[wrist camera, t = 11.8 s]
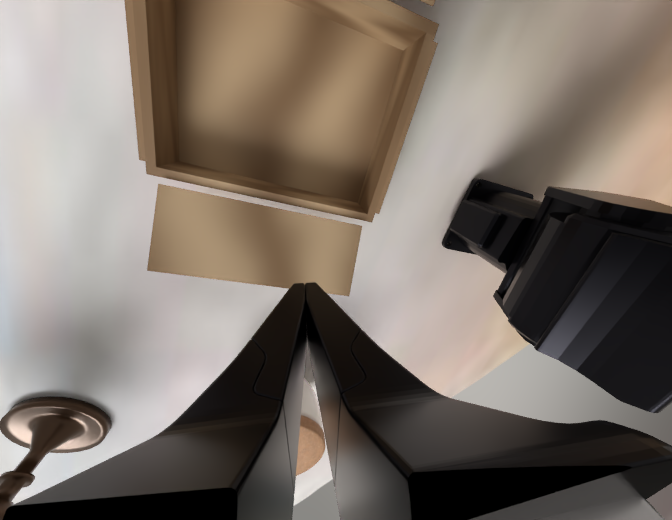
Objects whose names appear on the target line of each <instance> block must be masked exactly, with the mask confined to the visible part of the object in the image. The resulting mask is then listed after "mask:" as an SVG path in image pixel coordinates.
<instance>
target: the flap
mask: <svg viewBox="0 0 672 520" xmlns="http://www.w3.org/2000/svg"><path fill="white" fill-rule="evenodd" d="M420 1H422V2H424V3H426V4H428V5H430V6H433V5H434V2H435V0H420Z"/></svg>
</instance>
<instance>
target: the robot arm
mask: <svg viewBox="0 0 672 520" xmlns="http://www.w3.org/2000/svg"><path fill="white" fill-rule="evenodd" d="M477 183H479V184H478V186H477V187H476V184H477ZM544 195H546V196H545V198H544V200H543V202H540V201H537V200H533V195H532V194H529V193H526V192H523V191H519V190H516V189H513V188H509V187H506V186H503V185H499V184H496V183H493V182H489V181H486V180H483V179H479V178H476V179H474V180H473V181H472V182H471V184H470V186H469V188H468V190H467V192H466V194H465V196H464V198H463V200H462V202H461V204H460V207H459V209H458V211H457V213H456V215H455V217H454V219H453V221H452V223H451V225H450V227H449V229H448V231H447V233H446V235H445V237H444V239H443V241H442V245H443V246H444V247H445V248H447V249H451V250H456V251H461V252H466V253H471V254H476V255H479V256H480V257H482V258H483V259H485V260H486V261H488V262H489V263H491V264H492V265H494V266H495V267H497V268H498V269H500V270H501V271H503V272H504V273H506V275H505V277H504V279H503V281H502V283H501V285H500V286H499V288H498V290H496V291H495V293H494V295H493V297H494V298H495V300H496V301H497V303H498V304H499V306H500V307H501V309H502V310H503V312H504V313H505V314H506V316H507V317H508V321H509V323H510V324H511V325H512V326H513V327H514V328H515V329H516V331H517V332H518V333H519V334H520V335H521V336H522V337H523V339H524V340H525V341H527V342H529V343H530V344H532V345H533V346H535V347H534V348H535V349H536V350H537V351H539V352H541V353H543V354H546V355H548V356H550V357H552V358H555V359H557V360H559V361H561V362H563V363H564V364H566V365H568V366H569V367H571V368H573V369H575V370H576V371H578V372H579V373H581V374H582V375H584V376H585V377H587V378H588V379H590V380H591V381H593V382H594V383H596V384H597V385H598V386H600V387H601V388H603V389H604V390H605V391H607V392H608V393H609V394H611V395H612V396H614V397H615V398H616V399H618V400H620V401H622V402H624V403H627V404H630V405H632V406H635V407H638V408H640V409H643V410H646V411H649V412H653V413H659V412H661V411H662V410H663V409H664V408H666V407H667V406H668V405H669V404H670V403H672V207H670V206H667V205H664V204H661V203H658V202H655V201H651V200H647V199H641V198H635V197H630V196H624V195H618V194H612V193H607V192H599V191H589V190H579V189H570V188H560V187H550V186H548V188H547V190H546V192H545V194H544ZM448 242H449V244H447V243H448ZM306 323H307V324H306ZM307 340H308V347H309V352H310V358H311V363H312V369H313V374H314V379H315V385H316V390H317V396H318V401H319V406H320V412H321V417H322V422H323V428H324V433H325V439H326V444H327V449H328V455H329V460H330V466H331V471H332V476H333V482H334V486H335V493H336V498H337V503H338V509H339V514H340V520H665V519H664V518H663V517H662V516H661V515H660V514H659V513H658V512H657V511H656V510H655V508H654V507H653V506H652V505H651V504H650V503H649V502H648V501H647V500H646V499H647V498H649V497H650V496H652V495H654V494H655V493H657V492H658V491H660V490H661V489H663V488H664V487H666V486H667V485H669V484H671V483H672V446H671V445H669V444H667V443H665V442H663V441H661V440H659V439H657V438H655V437H653V436H650V435H648V434H646V433H643V432H641V431H638V430H635V429H631V428H628V427H625V426H622V425H619V424H615V423H611V422H608V421H602V420H598V421H589V422H583V423H573V424H566V423H554V422H547V421H541V420H537V419H532V418H527V417H523V416H519V415H515V414H511V413H507V412H503V411H499V410H495V409H491V408H487V407H483V406H479V405H475V404H471V403H467V402H463V401H459V400H455V399H452V398H448V397H446V396H443V395H441V394H439V393H437V392H436V391H434V390H433V389H431V388H429V387H428V386H427V385H425V384H424V383H423V382H422V381H420V380H419V379H418V378H417V377H415V376H414V375H413V374H412V373H411V372H409V371H408V370H407V369H406V368H404V367H403V366H402V365H401V364H399V363H398V362H397V361H396V360H394V359H393V358H392V357H391V356H390V355H388V354H387V353H386V352H385V351H384V350H383V349H381V348H380V347H379V346H378V345H377V344H376V343H375V342H374V341H373V340H372V339H371V338H370V337H369V336H368V335H367V334H366V333H365V332H364V331H363V330H361V328H360V327H359V326H358V325H357V324H356V323H355V322H354V321H353V320H352V319H351V318H350V317H349V316H348V315H347V314H346V313H345V312H344V311H343V310H342V309H341V308H340V307H339V306H338V305H337V304H336V303H335V302H334V300H333V299H332V298H331V297H330V296H329V295H328V294H327V293H326V292H325V291H324V290H323V289H322V288H321V287H320V286H319V285H318V284H317V283H316V282H309V283H305V284H304V283H294V284H293V285H292V286H291V287H290V289H289V290H288V291H287V293H286V294H285V295H284V297H283V298H282V299H281V300H280V302H279V303H278V304H277V306H276V307H275V308H274V310H273V311H272V312H271V313H270V315H269V316H268V317H267V319H266V320H265V321H264V323H263V324H262V325H261V326H260V328H259V329H258V330H257V332H256V333H255V334H254V335H253V337H252V338H251V340H249V342H248V343H247V344H246V346H245V347H244V348H243V349H242V351H241V352H240V353H239V354H238V356H237V357H236V358H235V359H234V360H233V362H232V363H231V364H230V365H229V366H228V367H227V368H226V369H225V370H224V371H223V372H222V374H221V375H220V376H219V377H218V378H217V379H216V380H215V381H214V382H213V383H212V384H211V385H210V386H209V387H208V388H207V389H206V390H205V391H204V392H203V393H202V394H201V395H200V396H199V397H198V398H197V400H196V401H195V402H194V403H193V404H192V405H191V406H190V407H189V408H188V409H187V410H186V411H185V412H184V413H183V414H182V415H181V416H180V417H179V418H178V419H177V420H176V421H175V422H173V423H172V424H171V425H170V426H169V427H167V428H166V429H165V430H163V431H162V432H161V433H159V434H158V435H156V436H154V437H153V438H151V439H149V440H147V441H145V442H143V443H141V444H139V445H137V446H135V447H133V448H131V449H129V450H127V451H125V452H123V453H121V454H118V455H116V456H114V457H112V458H110V459H108V460H106V461H104V462H102V463H100V464H98V465H96V466H94V467H92V468H90V469H88V470H85V471H83V472H81V473H79V474H77V475H75V476H73V477H71V478H69V479H67V480H65V481H63V482H61V483H59V484H57V485H55V486H53V487H50V488H48V489H46V490H44V491H42V492H40V493H38V494H36V495H34V496H32V497H30V498H27V499H25V500H23V501H21V502H19V503H16V504H14V505H12V506H10V507H8V508H7V510H6V512H5V514H4V517H3V520H292V514H293V503H294V491H295V479H296V467H297V455H298V444H299V432H300V420H301V408H302V396H303V384H304V373H305V361H306V349H307Z"/></svg>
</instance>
